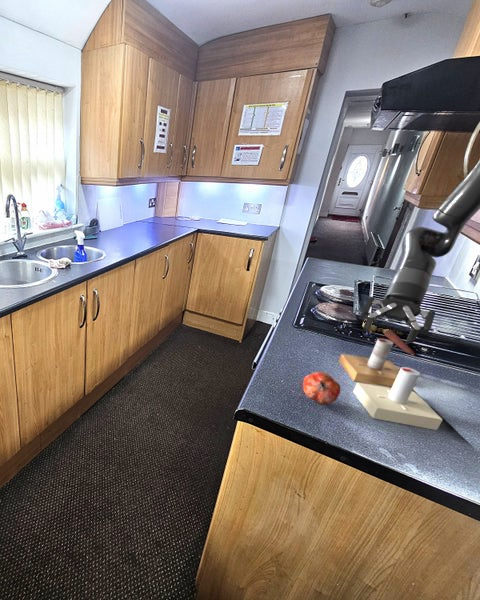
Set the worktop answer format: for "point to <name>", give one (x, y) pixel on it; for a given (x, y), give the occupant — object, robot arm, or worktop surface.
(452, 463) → the worktop surface
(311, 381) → the pomegranate
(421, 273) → the robot arm
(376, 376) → the brown wooden block
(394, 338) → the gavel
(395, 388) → the rod
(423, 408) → the cream base plate
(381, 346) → the rod
